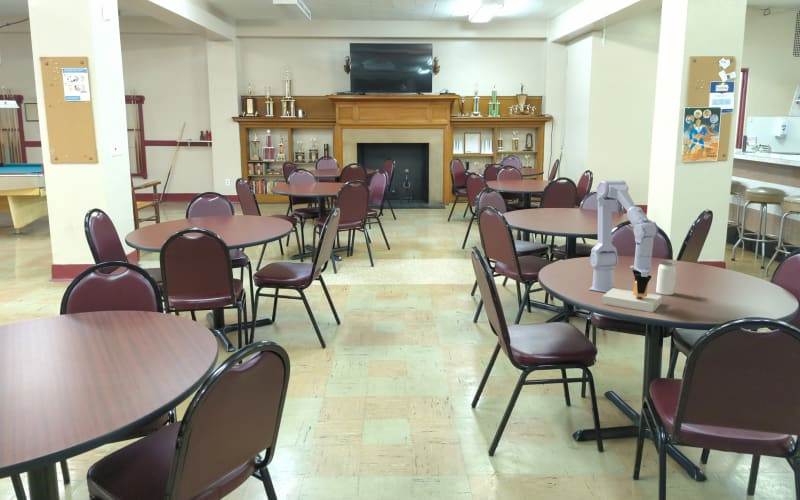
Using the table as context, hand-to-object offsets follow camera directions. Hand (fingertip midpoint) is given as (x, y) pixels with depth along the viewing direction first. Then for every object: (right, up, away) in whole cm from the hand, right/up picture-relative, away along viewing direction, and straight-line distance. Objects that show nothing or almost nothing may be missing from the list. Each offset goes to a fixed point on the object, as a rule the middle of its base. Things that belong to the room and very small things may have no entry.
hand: (639, 291), depth 231 cm
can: (+17, -2, +19) cm, 26 cm away
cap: (0, -1, 0) cm, 1 cm away
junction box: (-1, -5, +4) cm, 7 cm away
